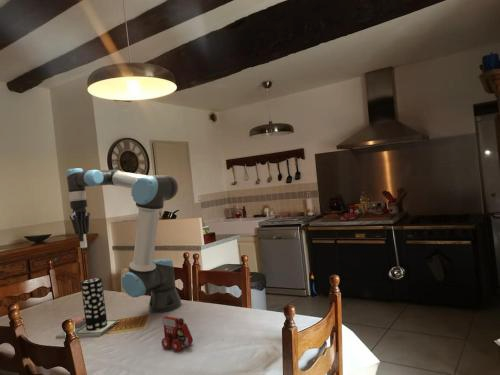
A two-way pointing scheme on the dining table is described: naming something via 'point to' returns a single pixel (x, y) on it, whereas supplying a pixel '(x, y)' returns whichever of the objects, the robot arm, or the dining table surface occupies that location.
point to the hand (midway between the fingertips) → (83, 247)
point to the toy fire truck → (175, 333)
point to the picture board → (82, 332)
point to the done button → (78, 320)
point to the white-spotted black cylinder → (94, 304)
